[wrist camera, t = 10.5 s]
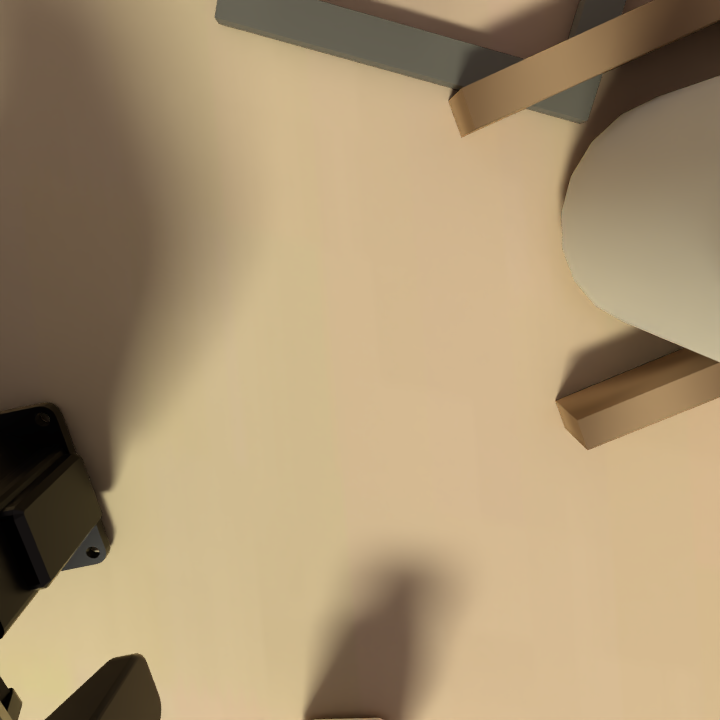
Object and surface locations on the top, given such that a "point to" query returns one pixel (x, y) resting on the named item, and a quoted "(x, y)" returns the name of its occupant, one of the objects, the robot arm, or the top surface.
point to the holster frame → (407, 44)
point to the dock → (547, 78)
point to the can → (653, 218)
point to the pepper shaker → (353, 719)
